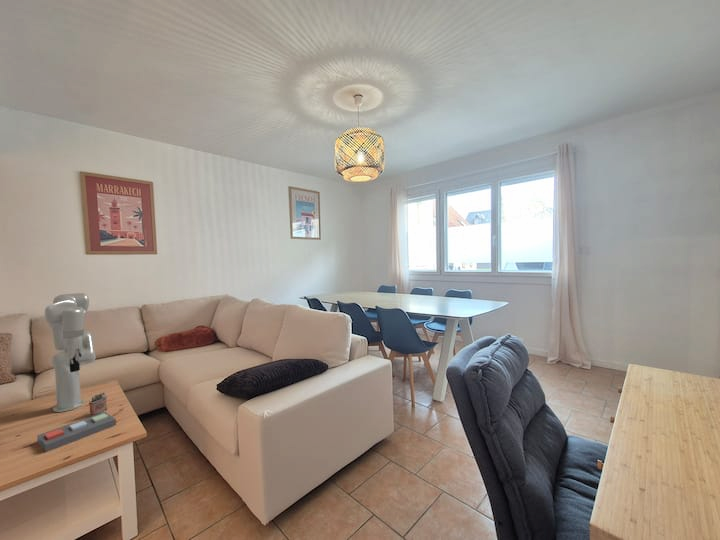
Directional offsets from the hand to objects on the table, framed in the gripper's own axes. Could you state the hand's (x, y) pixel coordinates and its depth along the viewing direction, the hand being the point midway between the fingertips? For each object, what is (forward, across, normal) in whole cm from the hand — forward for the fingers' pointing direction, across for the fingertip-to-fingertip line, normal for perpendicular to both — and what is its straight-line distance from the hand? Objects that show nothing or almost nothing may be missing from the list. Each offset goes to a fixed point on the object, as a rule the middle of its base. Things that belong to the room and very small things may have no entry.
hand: (74, 371), depth 145 cm
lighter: (+27, -6, +10) cm, 30 cm away
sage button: (+26, +10, +6) cm, 29 cm away
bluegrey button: (+26, +10, -2) cm, 28 cm away
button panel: (+27, +10, -2) cm, 29 cm away
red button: (+26, +10, -10) cm, 30 cm away
